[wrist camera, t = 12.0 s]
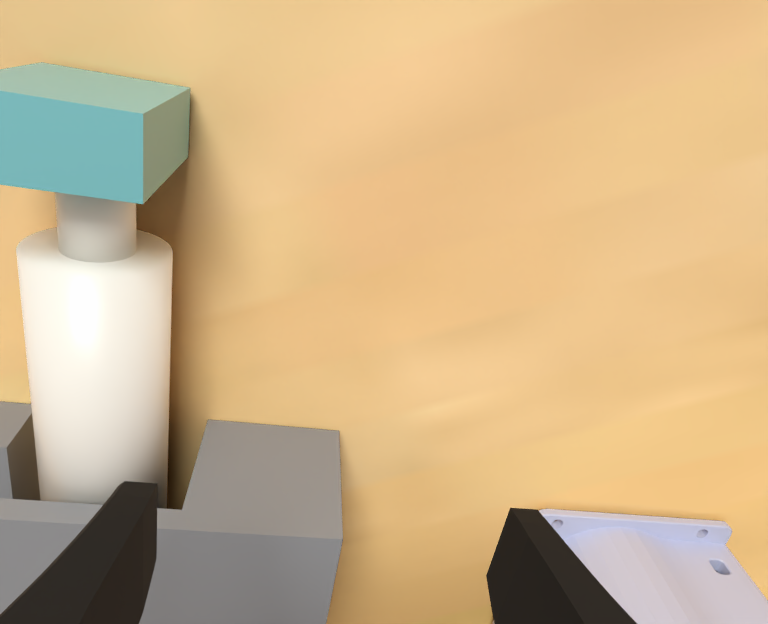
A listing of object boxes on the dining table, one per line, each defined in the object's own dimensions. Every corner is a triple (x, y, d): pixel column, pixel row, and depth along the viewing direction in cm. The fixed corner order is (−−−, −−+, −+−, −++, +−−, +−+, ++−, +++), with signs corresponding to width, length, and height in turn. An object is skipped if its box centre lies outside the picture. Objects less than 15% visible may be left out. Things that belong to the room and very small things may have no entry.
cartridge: (190, 87, 17) (143, 113, 13) (176, 494, 24) (142, 605, 19) (41, 62, 17) (-63, 80, 12) (70, 487, 23) (9, 600, 19)
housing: (339, 430, 23) (342, 539, 18) (303, 632, 28) (299, 758, 24) (-7, 400, 21) (-104, 513, 17) (22, 623, 26) (-46, 758, 22)
